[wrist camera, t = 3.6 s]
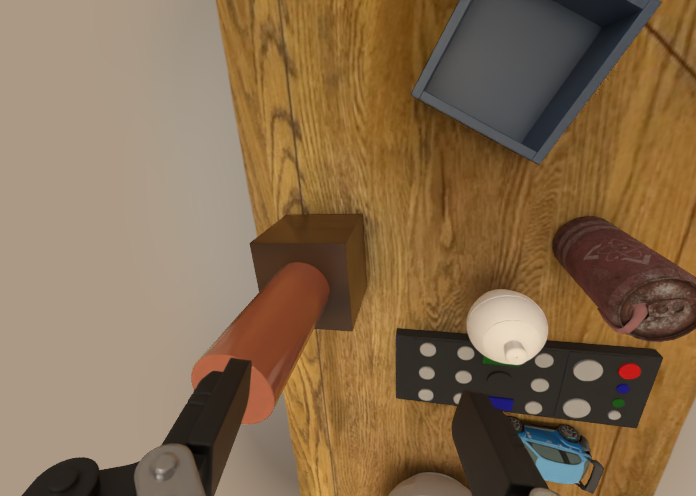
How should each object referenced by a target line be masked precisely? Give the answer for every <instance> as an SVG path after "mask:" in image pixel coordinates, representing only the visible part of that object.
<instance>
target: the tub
mask: <svg viewBox="0 0 696 496" xmlns="http://www.w3.org/2000/svg"><path fill="white" fill-rule="evenodd" d="M661 3H662V2H660V1H658V0H459V2H458V4H457V6H456V8H455V10H454V12H453V14H452V16H451V18H450V20H449V22H448V23H447V25H446V27H445V29H444V31H443V33H442V35H441V37H440V39H439V41H438V43H437V45H436V47H435V49H434V50H433V52H432V54H431V56H430V58H429V60H428V62H427V64H426V66H425V68H424V70H423V72H422V74H421V76H420V78H419V79H418V81H417V83H416V85H415V87H414V89H413V91H412V93H411V96H413V97H414V98H416V99H418V100H419V101H421V102H423V103H425V104H427V105H429V106H430V107H432V108H434V109H436V110H438V111H440V112H441V113H443V114H445V115H447V116H449V117H451V118H452V119H454V120H456V121H458V122H460V123H462V124H463V125H465V126H467V127H469V128H471V129H473V130H474V131H476V132H478V133H480V134H482V135H484V136H485V137H487V138H489V139H491V140H493V141H495V142H496V143H498V144H500V145H502V146H504V147H506V148H507V149H509V150H511V151H513V152H515V153H517V154H518V155H520V156H522V157H524V158H526V159H528V160H530V161H532V162H534V163H536V164H538V165H540V163H541V162H542V161H543V159H544V158H545V157H546V156H547V154H548V153H549V152H550V150H551V149H552V148H553V146H554V145H555V144H556V142H557V141H558V140H559V138H560V137H561V136H562V134H563V133H564V132H565V130H566V129H567V128H568V126H569V125H570V124H571V122H572V121H573V120H574V118H575V117H576V116H577V114H578V113H579V112H580V110H581V109H582V108H583V106H584V105H585V104H586V102H587V101H588V100H589V99H590V97H591V96H592V95H593V93H594V92H595V91H596V89H597V88H598V87H599V85H600V84H601V83H602V81H603V80H604V79H605V77H606V76H607V75H608V73H609V72H610V71H611V69H612V68H613V67H614V65H615V64H616V63H617V61H618V60H619V59H620V57H621V56H622V55H623V53H624V52H625V51H626V49H627V48H628V47H629V46H630V44H631V43H632V42H633V40H634V39H635V38H636V36H637V35H638V34H639V32H640V31H641V30H642V28H643V27H644V26H645V24H646V23H647V22H648V20H649V19H650V18H651V16H652V15H653V14H654V12H655V11H656V10H657V8H658V7H659V6H660V4H661Z"/></svg>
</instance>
